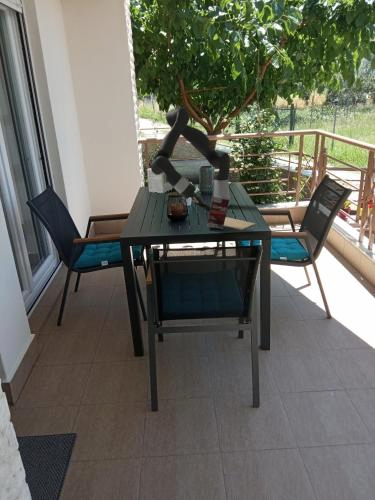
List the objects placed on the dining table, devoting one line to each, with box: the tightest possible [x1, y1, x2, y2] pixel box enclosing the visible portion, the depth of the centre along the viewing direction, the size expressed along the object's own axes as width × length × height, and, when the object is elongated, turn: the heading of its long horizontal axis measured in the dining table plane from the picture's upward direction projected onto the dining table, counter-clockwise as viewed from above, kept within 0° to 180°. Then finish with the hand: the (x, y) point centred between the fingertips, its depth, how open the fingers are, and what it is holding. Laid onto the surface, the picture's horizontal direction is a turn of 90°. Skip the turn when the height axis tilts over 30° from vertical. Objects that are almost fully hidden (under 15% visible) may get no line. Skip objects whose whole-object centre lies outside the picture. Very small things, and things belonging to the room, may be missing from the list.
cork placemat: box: [223, 216, 256, 231], centre depth 210 cm, size 12×20×1 cm, turn 44°
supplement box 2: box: [206, 194, 229, 230], centre depth 202 cm, size 9×5×16 cm, turn 92°
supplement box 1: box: [147, 167, 174, 194], centre depth 293 cm, size 13×13×18 cm
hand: (209, 210), depth 199 cm, fingers closed
